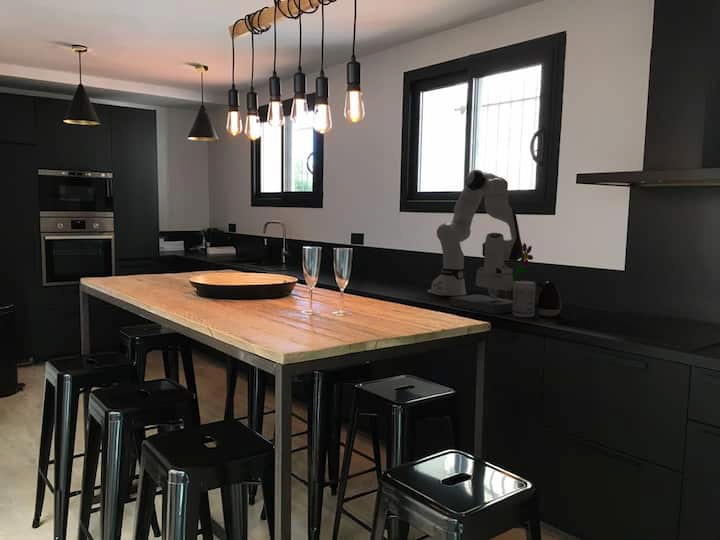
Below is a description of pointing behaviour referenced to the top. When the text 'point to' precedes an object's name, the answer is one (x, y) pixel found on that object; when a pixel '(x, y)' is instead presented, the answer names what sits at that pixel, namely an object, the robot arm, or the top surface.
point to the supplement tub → (524, 298)
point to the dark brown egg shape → (549, 299)
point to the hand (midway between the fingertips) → (493, 298)
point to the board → (483, 303)
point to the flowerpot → (521, 268)
